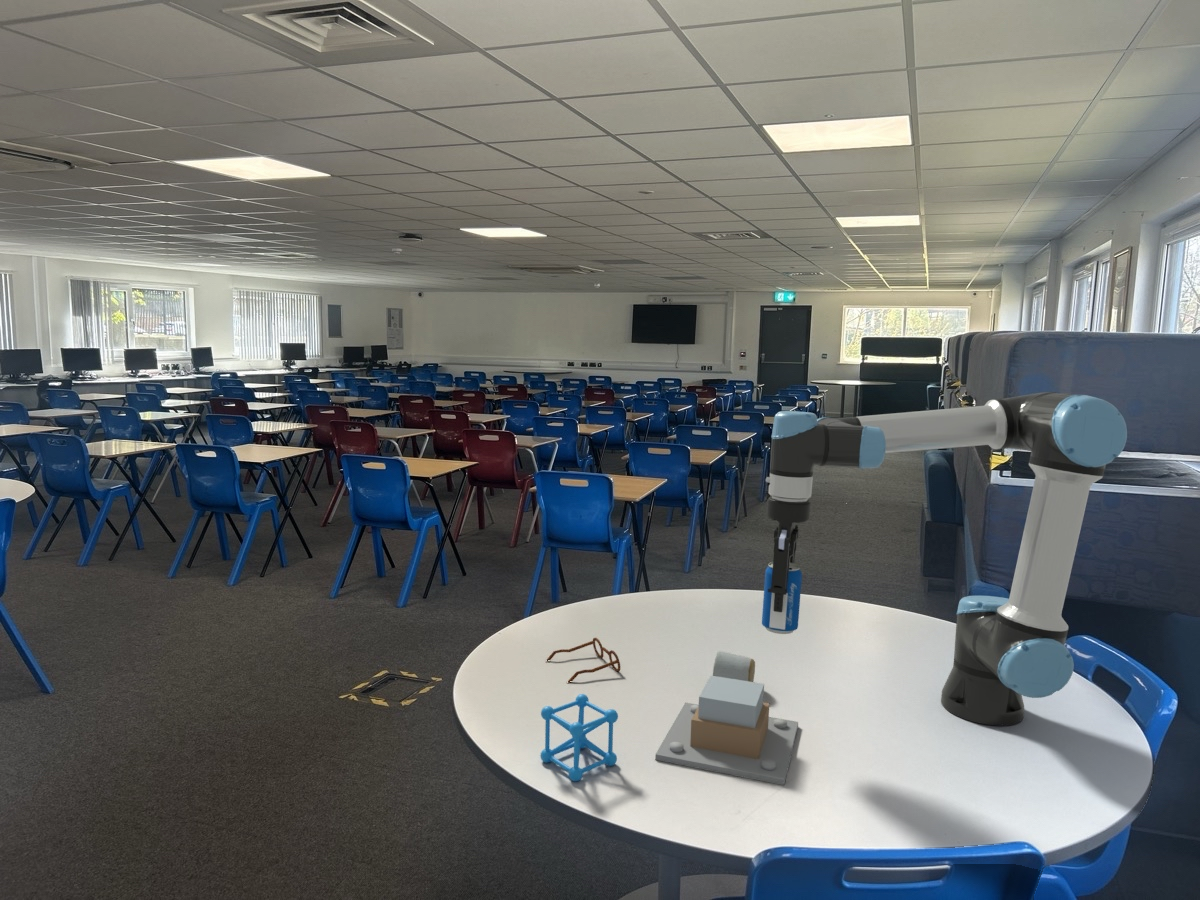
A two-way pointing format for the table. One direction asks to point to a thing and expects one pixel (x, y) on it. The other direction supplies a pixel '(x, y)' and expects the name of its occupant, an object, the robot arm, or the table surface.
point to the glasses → (596, 653)
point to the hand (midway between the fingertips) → (779, 621)
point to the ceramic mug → (734, 666)
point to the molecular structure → (578, 736)
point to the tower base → (729, 761)
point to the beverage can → (792, 599)
